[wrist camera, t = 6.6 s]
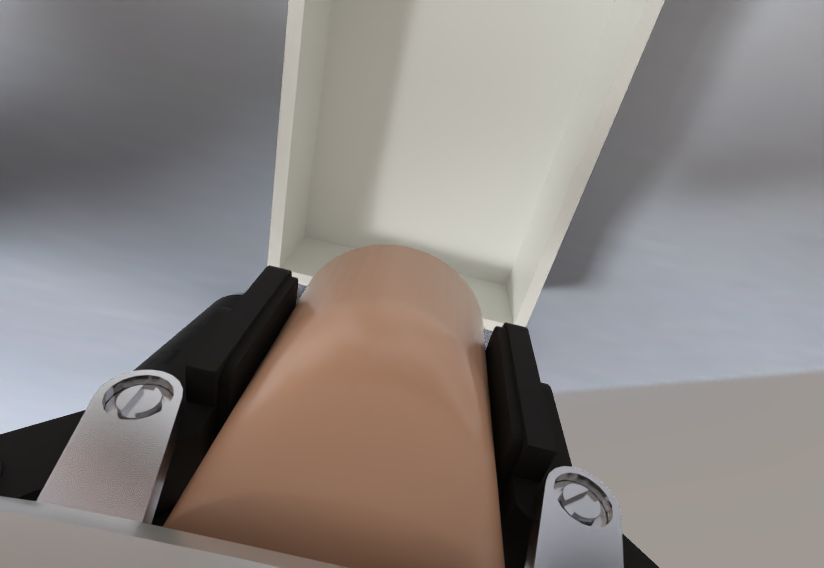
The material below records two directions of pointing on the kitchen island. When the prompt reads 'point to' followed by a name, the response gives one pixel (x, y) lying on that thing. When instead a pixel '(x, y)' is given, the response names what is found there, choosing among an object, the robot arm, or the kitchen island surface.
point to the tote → (447, 132)
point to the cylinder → (362, 426)
